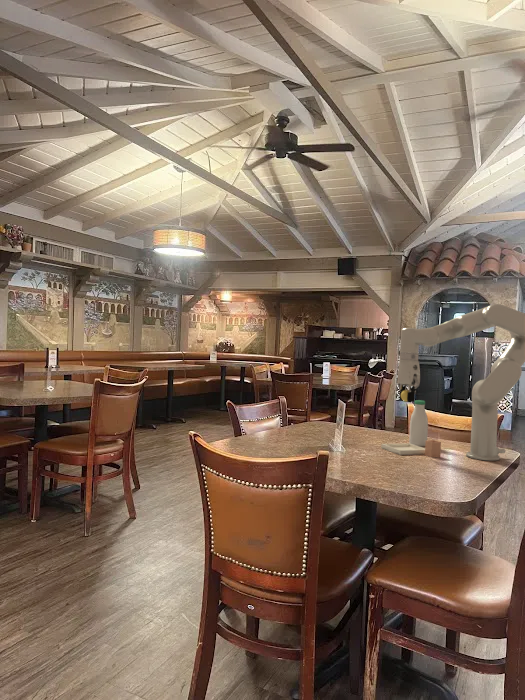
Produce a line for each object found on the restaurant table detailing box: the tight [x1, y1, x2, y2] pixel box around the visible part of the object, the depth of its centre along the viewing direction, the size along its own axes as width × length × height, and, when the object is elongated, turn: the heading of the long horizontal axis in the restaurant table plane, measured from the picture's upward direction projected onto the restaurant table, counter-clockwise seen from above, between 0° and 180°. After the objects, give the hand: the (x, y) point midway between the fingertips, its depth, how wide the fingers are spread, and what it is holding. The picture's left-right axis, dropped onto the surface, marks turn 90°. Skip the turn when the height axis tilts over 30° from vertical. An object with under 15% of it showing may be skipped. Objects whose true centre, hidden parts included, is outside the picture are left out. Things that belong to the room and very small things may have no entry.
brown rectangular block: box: [424, 439, 442, 458], centre depth 206 cm, size 4×4×6 cm
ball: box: [401, 389, 409, 403], centre depth 214 cm, size 5×5×5 cm
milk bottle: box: [408, 399, 429, 447], centre depth 230 cm, size 8×8×20 cm
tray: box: [380, 442, 425, 456], centre depth 214 cm, size 14×14×2 cm
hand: (406, 400), depth 214 cm, fingers closed on ball, 4 cm apart
